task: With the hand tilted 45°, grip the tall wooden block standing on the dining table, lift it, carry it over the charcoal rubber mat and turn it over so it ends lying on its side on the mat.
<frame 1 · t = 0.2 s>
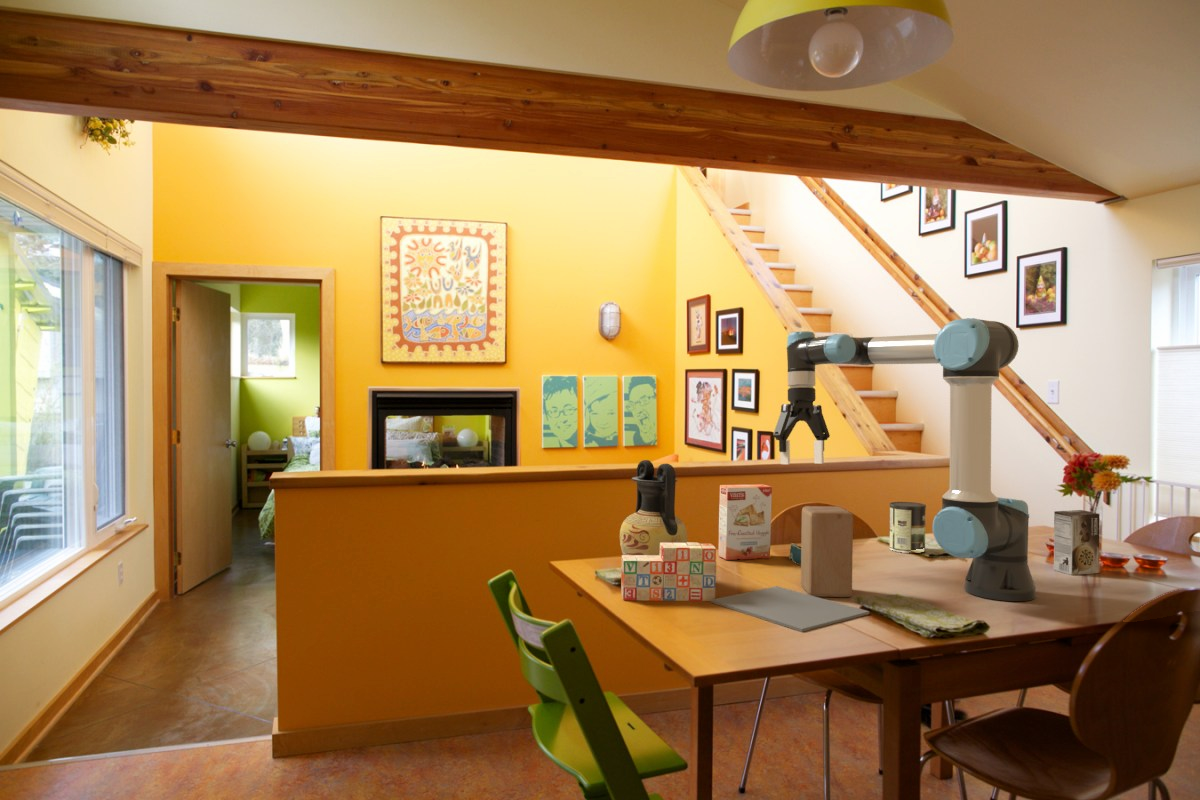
hand: (802, 464, 217), 28 cm above the table, tool pointing down, fingers open, 13 cm apart
coffee can: (907, 551, 237), on the table
sunglasses: (815, 562, 222), on the table
stack of blocks: (667, 598, 182), on the table
wooden block: (825, 593, 187), on the table
grey food carton: (1075, 572, 211), on the table
cracker box: (744, 558, 225), on the table
amphora: (652, 581, 197), on the table
mat: (788, 608, 173), on the table
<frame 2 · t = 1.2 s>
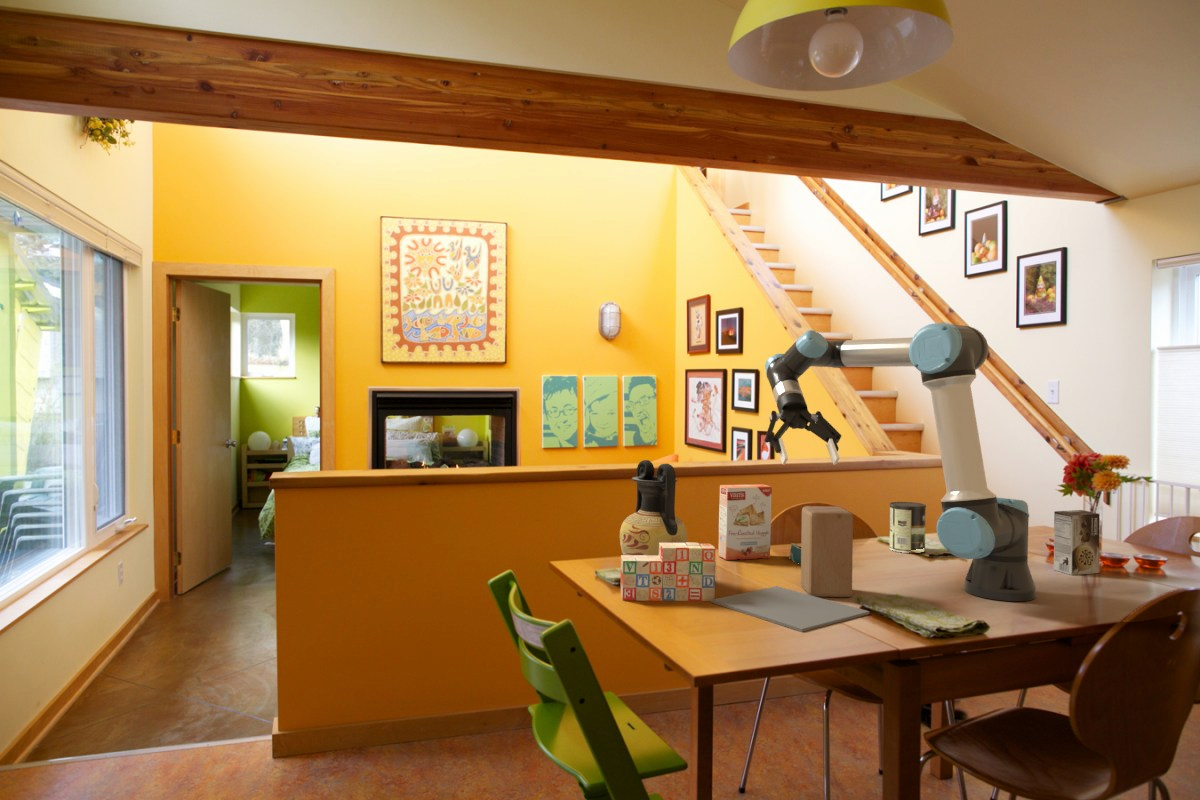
hand: (811, 461, 199), 30 cm above the table, tool tilted 45°, fingers open, 13 cm apart
nothing on the table moved.
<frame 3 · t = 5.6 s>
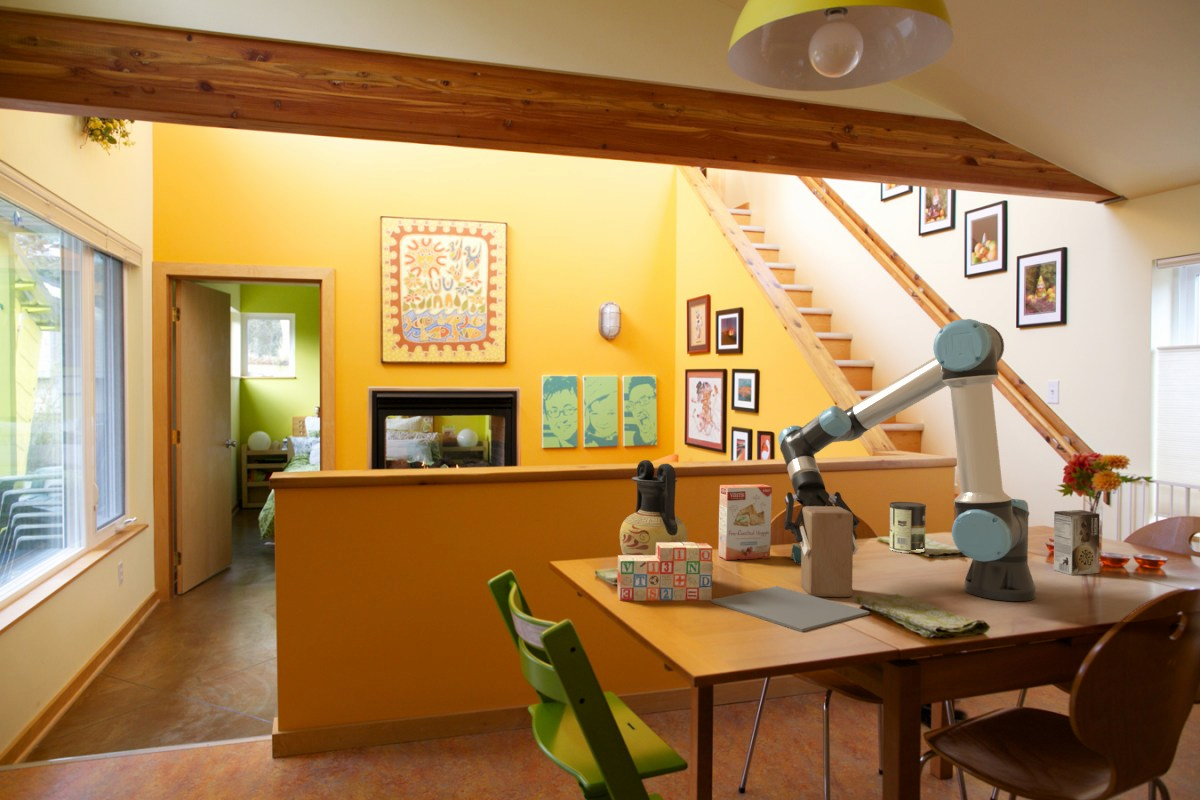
hand: (831, 552, 184), 10 cm above the table, tool tilted 45°, fingers closed on wooden block, 11 cm apart
wooden block: (825, 593, 187), on the table, touching gripper
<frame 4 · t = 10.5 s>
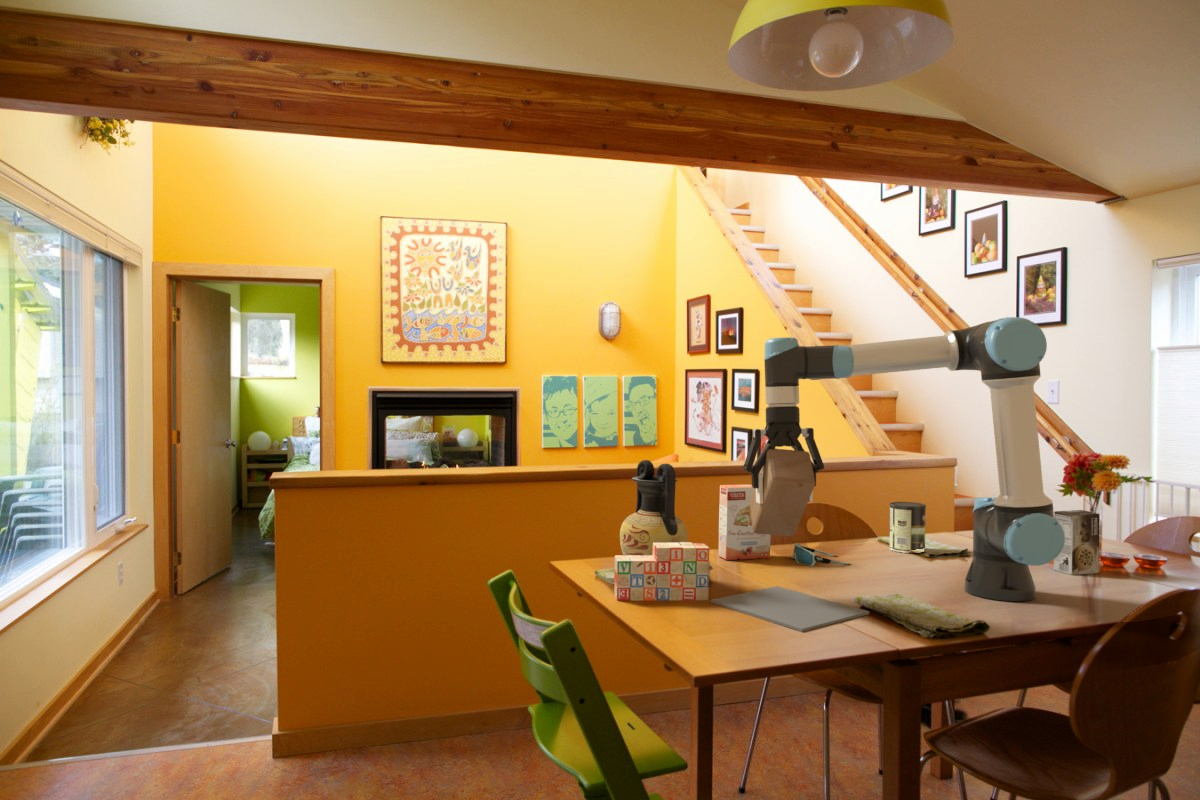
hand: (784, 502, 179), 23 cm above the table, tool pointing down, fingers closed on wooden block, 11 cm apart
wooden block: (770, 520, 188), point 17 cm above the table, touching gripper
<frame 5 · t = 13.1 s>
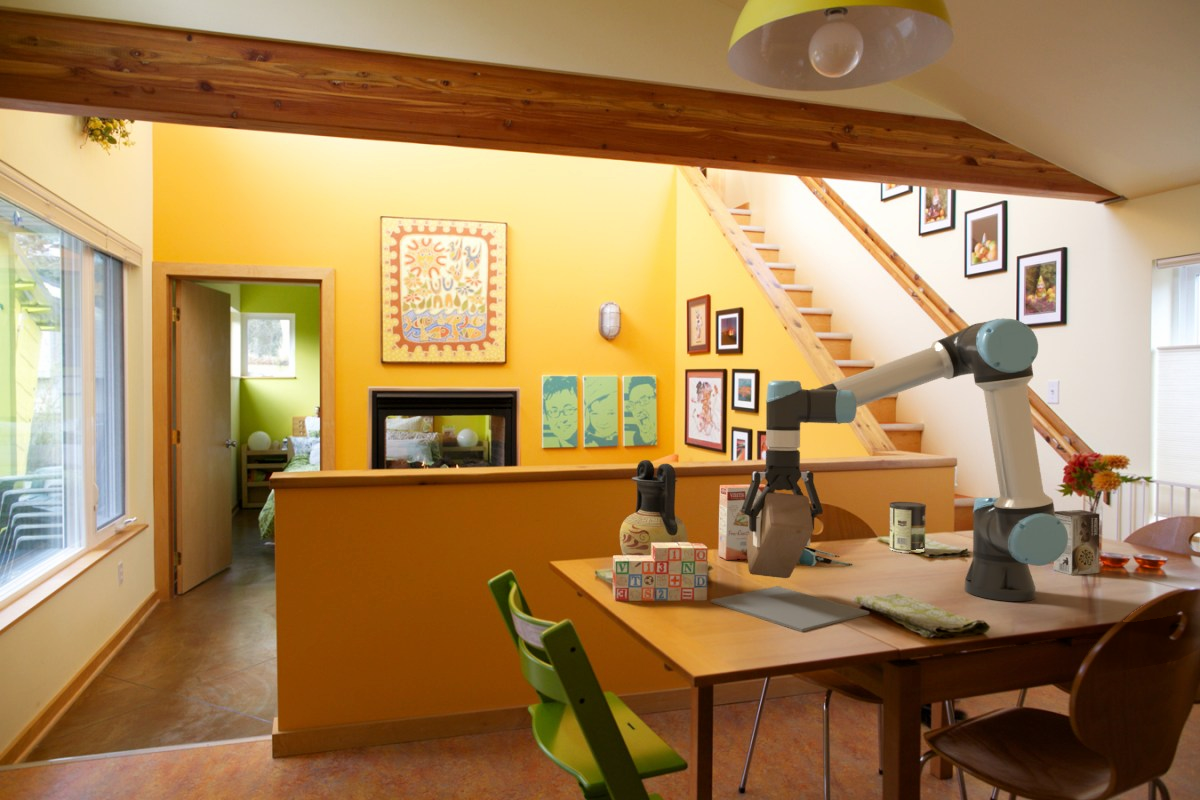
hand: (781, 545, 177), 13 cm above the table, tool pointing down, fingers closed on wooden block, 11 cm apart
wooden block: (766, 560, 187), point 8 cm above the table, touching gripper
when the fingers open (10 cm above the table, at t = 14.9 s): wooden block moves 4 cm, resting on mat.
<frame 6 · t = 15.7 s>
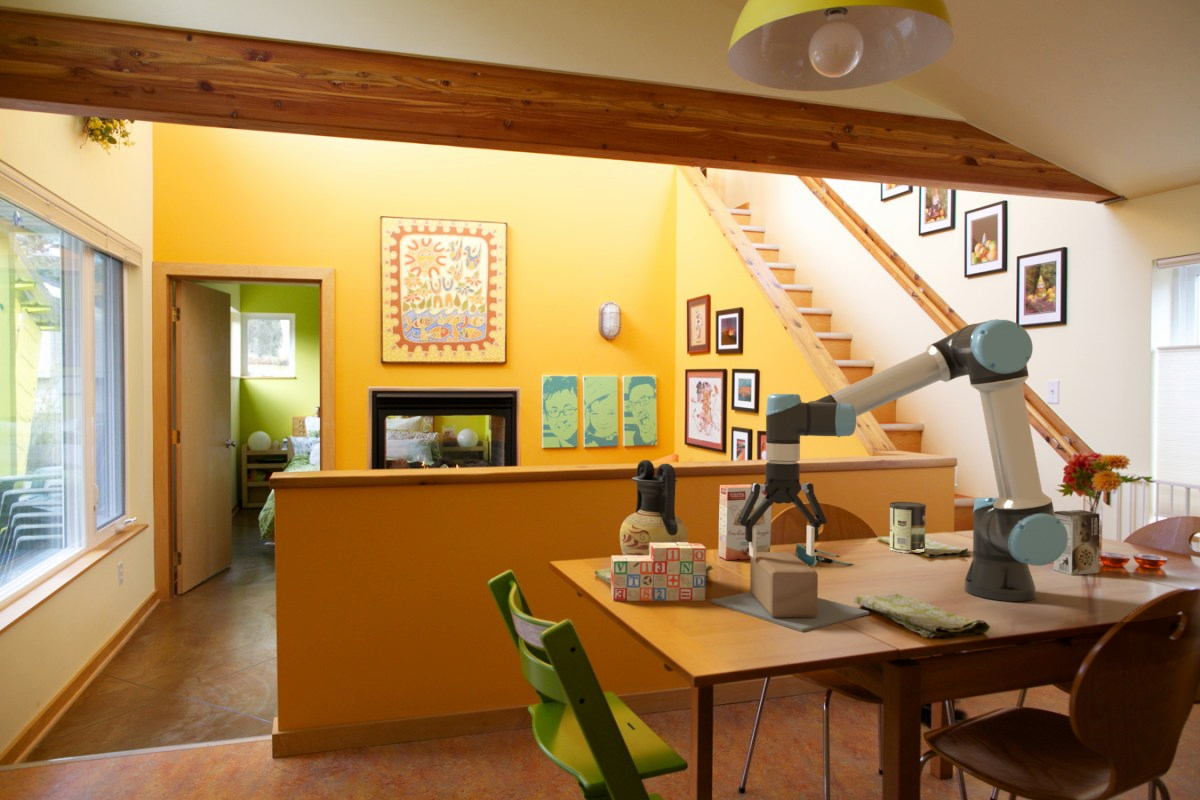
hand: (781, 555, 177), 11 cm above the table, tool pointing down, fingers open, 13 cm apart
wooden block: (770, 572, 183), point 6 cm above the table, touching mat
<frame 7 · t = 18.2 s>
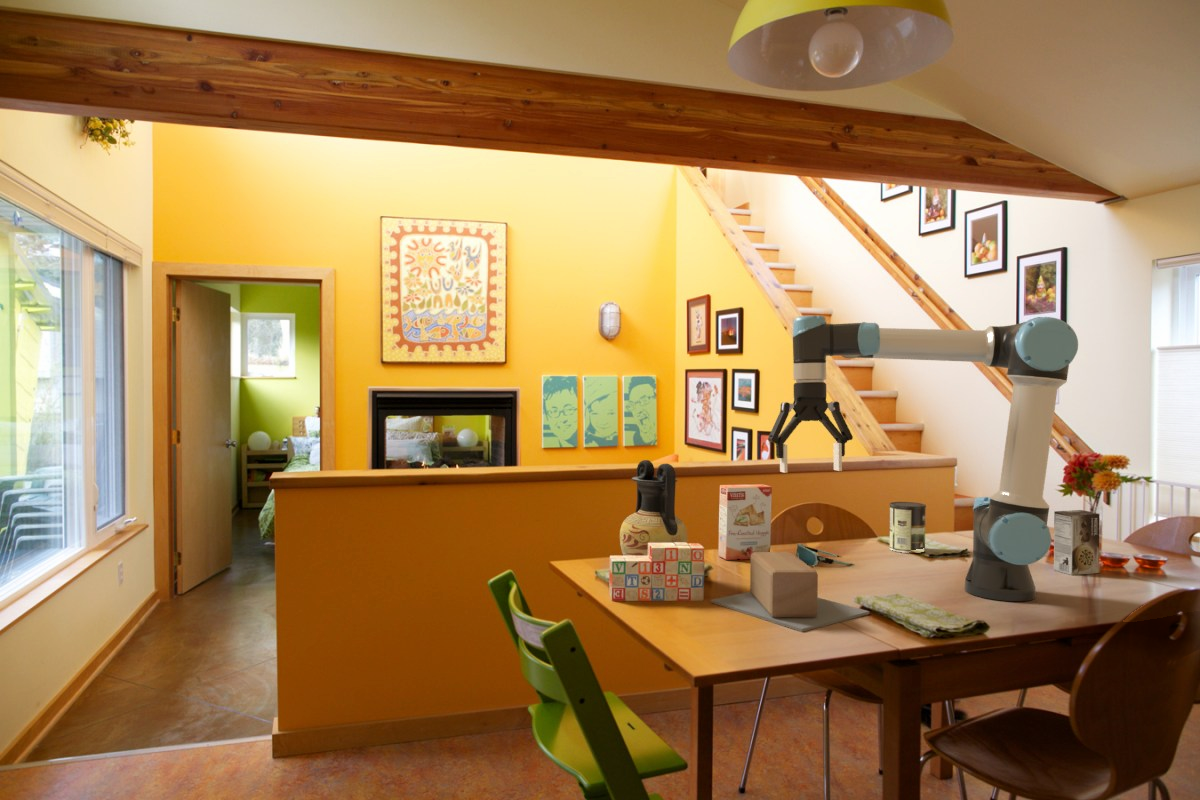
hand: (810, 471, 186), 29 cm above the table, tool pointing down, fingers open, 13 cm apart
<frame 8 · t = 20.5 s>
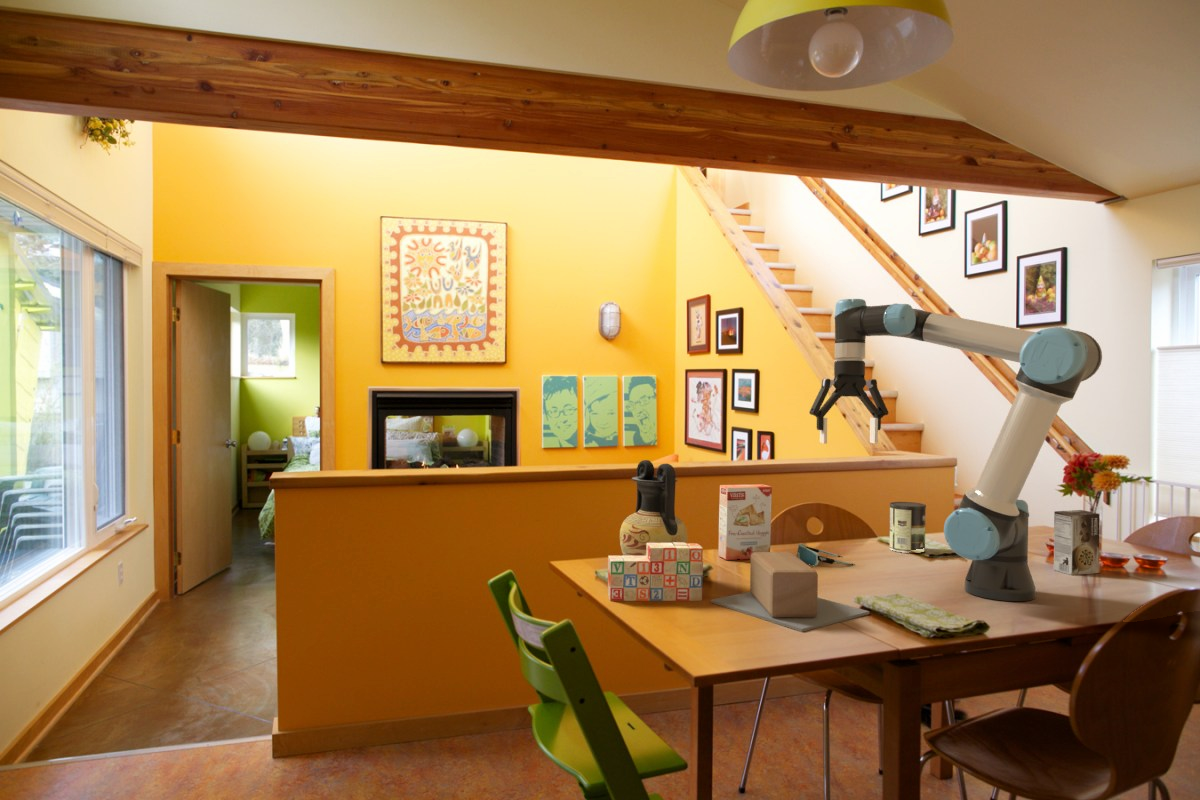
hand: (848, 443, 201), 35 cm above the table, tool pointing down, fingers open, 13 cm apart
at the end: wooden block tilted 90°; wooden block touching mat; the gripper is holding nothing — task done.
